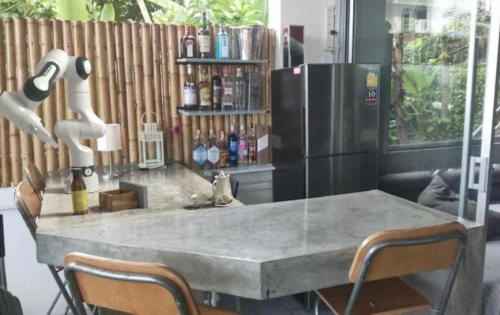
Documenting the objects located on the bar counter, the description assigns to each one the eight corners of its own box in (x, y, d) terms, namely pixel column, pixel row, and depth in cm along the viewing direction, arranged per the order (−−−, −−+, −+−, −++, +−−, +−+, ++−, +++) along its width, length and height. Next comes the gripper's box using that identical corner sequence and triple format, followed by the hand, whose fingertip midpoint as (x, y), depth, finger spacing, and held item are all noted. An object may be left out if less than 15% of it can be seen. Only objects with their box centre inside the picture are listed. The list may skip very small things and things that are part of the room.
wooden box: (99, 207, 198) (98, 192, 197) (124, 202, 207) (123, 188, 206) (112, 212, 189) (112, 196, 188) (137, 206, 198) (137, 191, 197)
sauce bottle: (91, 212, 189) (89, 167, 187) (81, 215, 183) (79, 169, 181) (79, 211, 191) (76, 167, 189) (69, 214, 185) (66, 169, 183)
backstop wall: (119, 200, 210) (118, 180, 209) (123, 200, 212) (122, 180, 210) (144, 208, 195) (143, 186, 194) (148, 207, 196) (147, 186, 195)
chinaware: (217, 199, 219) (214, 167, 217) (246, 199, 211) (243, 165, 210) (186, 212, 194) (182, 176, 193) (218, 212, 187) (213, 175, 185)
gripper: (35, 118, 171) (63, 142, 176) (37, 119, 189) (62, 140, 194) (23, 130, 169) (51, 153, 174) (26, 129, 188) (52, 150, 193)
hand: (57, 146), depth 184 cm, fingers open, 8 cm apart
